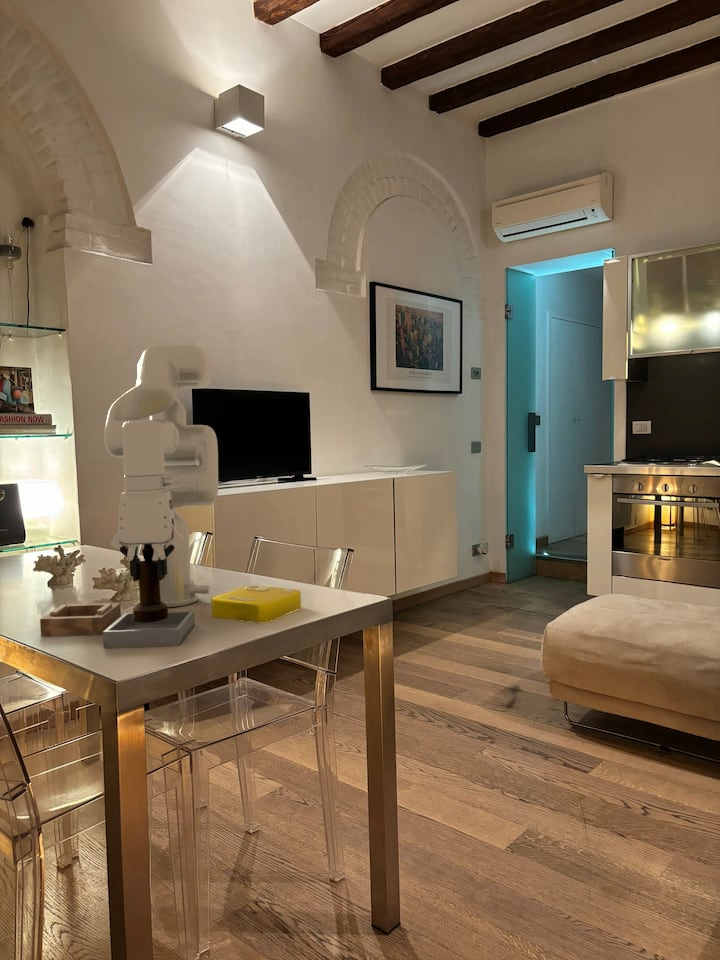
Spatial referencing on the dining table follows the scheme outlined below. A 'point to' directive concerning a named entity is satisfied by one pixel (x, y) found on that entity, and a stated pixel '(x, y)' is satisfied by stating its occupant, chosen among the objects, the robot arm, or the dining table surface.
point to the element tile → (255, 603)
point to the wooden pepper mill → (149, 590)
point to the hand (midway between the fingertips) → (149, 578)
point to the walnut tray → (79, 619)
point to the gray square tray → (149, 631)
